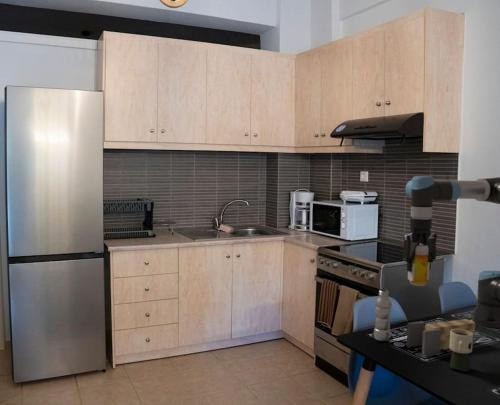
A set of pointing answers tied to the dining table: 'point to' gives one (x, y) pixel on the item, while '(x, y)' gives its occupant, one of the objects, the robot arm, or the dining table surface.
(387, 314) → the plastic bottle
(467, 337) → the character mug
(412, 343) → the chute
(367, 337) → the dining table surface
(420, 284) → the beer can
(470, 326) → the tan wooden block
